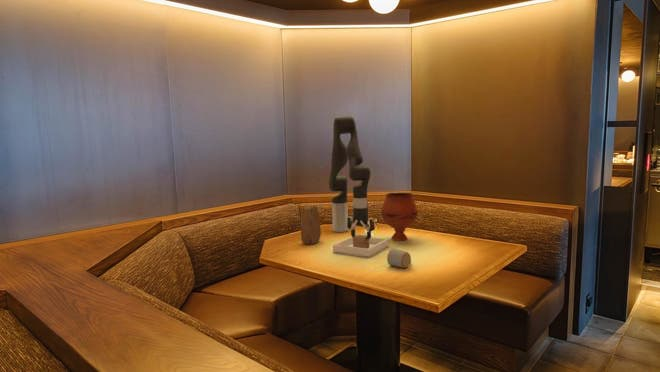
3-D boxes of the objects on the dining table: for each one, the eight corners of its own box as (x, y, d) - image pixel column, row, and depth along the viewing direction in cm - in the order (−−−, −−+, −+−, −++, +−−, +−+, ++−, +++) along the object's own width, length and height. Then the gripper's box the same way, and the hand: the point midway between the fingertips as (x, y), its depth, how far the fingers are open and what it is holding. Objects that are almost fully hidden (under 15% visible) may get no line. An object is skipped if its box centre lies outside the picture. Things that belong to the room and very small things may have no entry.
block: (311, 245, 224) (309, 208, 222) (299, 243, 229) (298, 207, 226) (323, 241, 233) (321, 205, 231) (312, 239, 237) (310, 204, 235)
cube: (358, 245, 218) (358, 234, 217) (369, 247, 214) (369, 235, 214) (353, 248, 213) (352, 237, 212) (363, 250, 209) (363, 238, 209)
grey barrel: (402, 270, 179) (402, 252, 179) (386, 267, 185) (386, 249, 184) (415, 264, 187) (415, 247, 186) (400, 261, 193) (400, 245, 192)
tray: (354, 242, 228) (354, 235, 228) (388, 246, 218) (388, 238, 217) (332, 252, 210) (332, 244, 209) (369, 257, 199) (369, 249, 199)
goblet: (422, 236, 235) (422, 192, 232) (409, 245, 219) (409, 197, 216) (390, 233, 245) (390, 190, 242) (376, 241, 229) (375, 195, 226)
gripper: (376, 206, 210) (377, 237, 213) (351, 204, 218) (352, 234, 220) (369, 208, 204) (370, 241, 206) (344, 206, 211) (345, 238, 214)
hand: (361, 238), depth 213 cm, fingers open, 8 cm apart
